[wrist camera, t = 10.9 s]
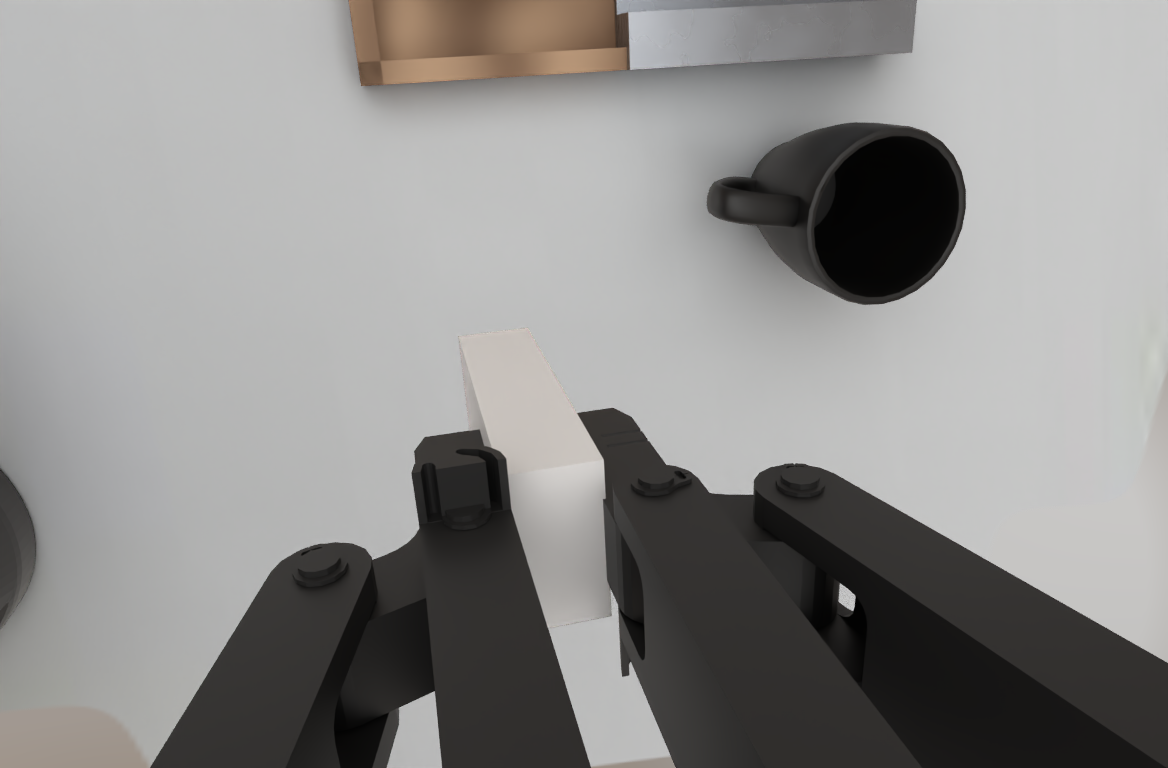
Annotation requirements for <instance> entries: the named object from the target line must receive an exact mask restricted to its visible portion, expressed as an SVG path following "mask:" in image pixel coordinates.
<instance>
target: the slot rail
mask: <svg viewBox="0 0 1168 768" xmlns="http://www.w3.org/2000/svg"><path fill="white" fill-rule="evenodd" d="M916 2H917V0H614V6H615V34H616V48H623V47H627V70H634V69H650V68H667V67H683V66H699V65H716V64H732V63H748V62H764V61H781V60H797V59H813V58H830V57H846V56H862V55H879V54H895V53H911V52H912V47H913V36H914V24H915V13H916Z"/></svg>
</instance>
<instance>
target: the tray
mask: <svg viewBox="0 0 1168 768" xmlns="http://www.w3.org/2000/svg"><path fill="white" fill-rule="evenodd" d="M349 6H350V13H351V20H352V27H353V34H354V40H355V47H356V54H357V61H358V68H359V75H360V81H361V86H370V85H386V84H403V83H419V82H435V81H452V80H468V79H484V78H500V77H517V76H533V75H549V74H566V73H582V72H598V71H615V70H627V47H623V48H616V34H615V6H614V0H349Z"/></svg>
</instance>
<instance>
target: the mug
mask: <svg viewBox="0 0 1168 768" xmlns="http://www.w3.org/2000/svg"><path fill="white" fill-rule="evenodd" d="M707 208H708V212H709V213H711V214H712V215H713V216H715V217H717V218H719V219H722V220H725V221H729V222H734V223H741V224H748V225H757V226H758V228H759V229H760V231H761V233H762V234H763V236H764V237H765V239H766V241H767V242H768V244H769V245H770V247H771V248H772V249H773V251H774V252H775V253H776V254H777V255H778V257H779V258H780V259H781V260H782V261H783V262H784V263H786V264H787V265H788V266H789V267H790V268H791V269H792V270H793V271H794V272H796V273H797V274H798V275H799V276H801V277H802V278H803V279H805V280H807V281H809V282H811V283H813V284H814V285H816V286H818V287H820V288H822V289H824V290H826V291H828V292H830V293H832V294H834V295H836V296H838V297H840V298H842V299H844V300H846V301H849V302H854V303H858V304H863V305H868V304H884V303H888V302H891V301H895V300H898V299H901V298H903V297H905V296H907V295H909V294H911V293H913V292H915V291H916V290H918V289H919V288H920V287H921V286H923V285H924V284H925V283H926V282H928V281H929V280H930V279H931V278H932V277H933V276H934V275H935V274H936V273H937V272H938V270H939V269H940V268H941V267H942V266H943V265H944V263H945V262H946V260H947V259H948V257H949V255H950V254H951V252H952V250H953V249H954V247H955V245H956V242H957V239H958V237H959V234H960V232H961V229H962V225H963V220H964V215H965V209H966V189H965V185H964V180H963V176H962V171H961V169H960V167H959V165H958V163H957V161H956V159H955V157H954V155H953V154H952V153H951V152H950V151H949V149H948V148H947V147H946V146H945V145H944V144H943V142H941V141H940V140H939V139H937V138H935V137H934V136H932V135H931V134H929V133H928V132H926V131H923V130H919V129H916V128H913V127H909V126H900V125H891V124H880V123H846V124H840V125H835V126H831V127H827V128H822V129H818V130H814V131H812V132H809V133H806V134H804V135H802V136H799V137H797V138H795V139H793V140H791V141H789V142H786V143H783V144H781V145H779V146H777V147H775V148H774V149H773V150H771V151H770V152H769V153H768V154H766V155H765V156H764V158H763V159H762V160H761V161H760V162H759V164H758V165H757V167H756V169H755V171H754V173H753V175H752V178H745V177H728V178H724V179H721V180H718V181H716V182H714V183H713V184H712V186H711V187H710V189H709V193H708V196H707Z"/></svg>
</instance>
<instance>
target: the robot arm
mask: <svg viewBox="0 0 1168 768" xmlns="http://www.w3.org/2000/svg"><path fill="white" fill-rule="evenodd" d="M458 337H459V346H460V354H461V363H462V372H463V380H464V389H465V397H466V406H467V414H468V423H469V431H464V432H457V433H450V434H444V435H437V436H430V437H425V438H424V439H423V440H422V442H421V443H420V444H419V446H418V447H417V448H416V450H415V451H414V453H415V464H414V467H413V470H412V480H413V486H414V493H415V500H416V506H417V513H418V520H419V527H420V528H419V530H418V532H417V534H416V535H415V536H414V537H413V538H412V539H411V540H410V541H409V542H408V543H407V544H405V545H404V546H402V547H401V548H399V549H398V550H396V551H394V552H391V553H389V554H387V555H385V556H382V557H379V558H377V559H374V560H372V557H371V556H370V555H369V553H368V552H367V551H366V549H364V548H362V547H359V546H357V545H354V544H350V543H336V542H335V543H328V544H318V545H314V546H310V547H309V548H308V547H307V548H305V549H302V550H300V551H298V552H296V553H294V554H293V555H291V556H289V557H287V558H286V559H284V560H282V561H281V562H280V563H279V564H278V565H277V566H276V567H275V568H274V569H273V570H272V572H271V573H270V574H269V576H268V578H267V579H266V581H265V582H264V584H263V586H262V587H261V589H260V591H259V592H258V594H257V595H256V597H255V599H254V600H253V602H252V603H251V605H250V607H249V608H248V610H247V612H246V613H245V615H244V616H243V618H242V620H241V621H240V623H239V625H238V626H237V628H236V629H235V631H234V633H233V634H232V636H231V637H230V639H229V641H228V642H227V644H226V646H225V647H224V649H223V650H222V652H221V654H220V655H219V657H218V659H217V660H216V662H215V663H214V665H213V667H212V668H211V670H210V672H209V673H208V675H207V676H206V678H205V680H204V681H203V683H202V684H201V686H200V688H199V689H198V691H197V693H196V694H195V696H194V697H193V699H192V701H191V702H190V704H189V706H188V707H187V709H186V710H185V712H184V714H183V715H182V717H181V719H180V720H179V722H178V723H177V725H176V727H175V728H174V730H173V731H172V733H171V735H170V736H169V738H168V740H167V741H166V743H165V744H164V746H163V748H162V749H161V751H160V753H159V754H158V756H157V757H156V759H155V761H154V762H153V764H152V765H151V767H150V768H386V767H387V764H388V760H389V757H390V753H391V750H392V746H393V743H394V739H395V736H396V732H397V729H398V725H399V707H401V706H403V705H406V704H408V703H410V702H412V701H414V700H416V699H418V698H421V697H423V696H425V695H427V694H429V693H431V692H433V691H435V696H436V706H437V717H438V728H439V738H440V749H441V759H442V768H591V766H590V763H589V760H588V757H587V753H586V750H585V747H584V744H583V740H582V737H581V734H580V731H579V727H578V724H577V721H576V718H575V714H574V711H573V708H572V705H571V701H570V698H569V695H568V692H567V688H566V685H565V682H564V679H563V675H562V672H561V669H560V666H559V662H558V659H557V656H556V653H555V649H554V646H553V643H552V640H551V636H550V633H549V630H548V628H553V627H558V626H563V625H569V624H574V623H579V622H584V621H589V620H594V619H599V618H604V617H609V616H612V614H611V594H610V588H611V590H612V592H613V595H614V597H615V599H616V601H617V604H618V611H619V633H620V655H621V670H622V677H623V676H628V675H629V663H630V662H631V663H632V665H633V667H634V670H635V672H636V674H637V677H638V679H639V682H640V684H641V686H642V689H643V691H644V693H645V696H646V698H647V700H648V703H649V705H650V708H651V710H652V712H653V715H654V717H655V719H656V722H657V724H658V727H659V729H660V731H661V734H662V736H663V738H664V741H665V743H666V746H667V748H668V750H669V753H670V755H671V757H672V760H673V762H674V765H675V767H676V768H1168V663H1167V662H1165V661H1163V660H1162V659H1160V658H1158V657H1156V656H1154V655H1153V654H1151V653H1149V652H1147V651H1146V650H1144V649H1142V648H1140V647H1139V646H1137V645H1135V644H1133V643H1132V642H1130V641H1128V640H1126V639H1125V638H1123V637H1121V636H1119V635H1117V634H1116V633H1114V632H1112V631H1110V630H1109V629H1107V628H1105V627H1103V626H1102V625H1100V624H1098V623H1096V622H1094V621H1093V620H1091V619H1089V618H1088V617H1086V616H1084V615H1082V614H1080V613H1079V612H1077V611H1075V610H1073V609H1072V608H1070V607H1068V606H1066V605H1065V604H1063V603H1061V602H1059V601H1057V600H1056V599H1054V598H1052V597H1050V596H1049V595H1047V594H1045V593H1043V592H1042V591H1040V590H1038V589H1036V588H1034V587H1033V586H1031V585H1029V584H1027V583H1026V582H1024V581H1022V580H1021V579H1019V578H1017V577H1015V576H1013V575H1012V574H1010V573H1008V572H1007V571H1004V570H1003V569H1001V568H999V567H998V566H996V565H994V564H992V563H991V562H989V561H987V560H985V559H984V558H982V557H980V556H978V555H977V554H975V553H973V552H971V551H970V550H968V549H966V548H964V547H963V546H961V545H959V544H957V543H955V542H954V541H952V540H950V539H948V538H947V537H945V536H943V535H941V534H940V533H938V532H936V531H934V530H933V529H931V528H929V527H927V526H926V525H924V524H922V523H920V522H918V521H917V520H915V519H913V518H911V517H910V516H908V515H906V514H904V513H903V512H901V511H899V510H897V509H896V508H894V507H892V506H890V505H889V504H887V503H885V502H883V501H882V500H880V499H878V498H876V497H874V496H873V495H871V494H869V493H867V492H866V491H864V490H862V489H860V488H859V487H857V486H855V485H853V484H852V483H850V482H848V481H846V480H845V479H843V478H841V477H839V476H837V475H836V474H834V473H831V472H829V471H827V470H824V469H822V468H818V467H813V466H808V465H806V464H798V463H795V465H794V464H793V463H792V464H784V465H781V466H775V467H770V468H768V469H766V470H764V471H762V472H760V473H759V474H758V476H757V477H756V478H755V480H754V495H724V494H712V493H709V492H708V490H707V489H706V488H705V487H704V485H703V484H702V483H701V481H700V480H699V479H698V478H697V477H696V476H695V475H694V474H692V473H691V472H690V471H688V470H685V469H682V468H679V467H676V466H670V465H666V464H665V463H664V461H663V460H662V458H661V457H660V456H659V454H658V453H657V452H656V450H655V449H654V447H653V446H652V445H651V443H650V442H649V441H647V438H646V436H645V435H644V434H643V432H642V431H640V428H639V427H638V425H637V424H636V423H635V421H634V420H633V418H632V417H630V416H628V415H626V414H624V413H622V412H620V411H618V410H616V409H614V408H608V409H602V410H595V411H588V412H581V413H576V411H575V409H574V407H573V406H572V404H571V402H570V400H569V399H568V397H567V395H566V393H565V392H564V390H563V388H562V386H561V385H560V383H559V381H558V380H557V378H556V376H555V374H554V373H553V371H552V369H551V367H550V366H549V364H548V362H547V360H546V359H545V357H544V355H543V353H542V352H541V350H540V348H539V347H538V345H537V343H536V341H535V340H534V338H533V336H532V334H531V333H530V331H529V329H528V328H521V329H513V330H505V331H496V332H488V333H480V334H472V335H464V336H458ZM34 564H35V537H34V532H33V527H32V523H31V520H30V517H29V514H28V512H27V509H26V507H25V505H24V503H23V501H22V499H21V497H20V496H19V494H18V492H17V491H16V489H15V488H14V486H13V485H12V484H11V482H10V481H9V480H8V479H7V477H6V476H5V475H4V474H3V473H2V471H1V470H0V630H1V628H2V627H3V626H4V624H5V623H6V622H7V620H8V619H9V617H10V616H11V614H12V613H13V611H14V610H15V608H16V607H17V605H18V604H19V602H20V601H21V599H22V598H23V596H24V594H25V592H26V590H27V588H28V585H29V583H30V580H31V577H32V574H33V569H34ZM840 583H841V584H842V585H844V586H845V587H846V588H848V589H849V590H850V591H851V592H852V593H853V594H854V595H855V596H856V599H855V608H854V611H851V610H849V609H847V608H846V607H845V606H843V605H842V604H841V603H839V602H838V599H839V585H840Z"/></svg>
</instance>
